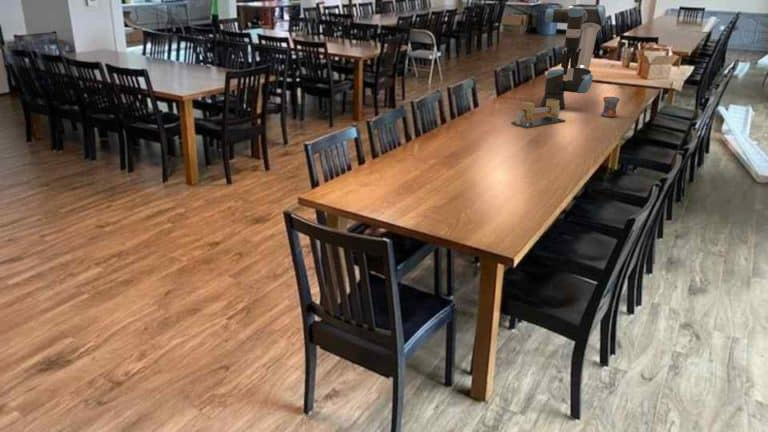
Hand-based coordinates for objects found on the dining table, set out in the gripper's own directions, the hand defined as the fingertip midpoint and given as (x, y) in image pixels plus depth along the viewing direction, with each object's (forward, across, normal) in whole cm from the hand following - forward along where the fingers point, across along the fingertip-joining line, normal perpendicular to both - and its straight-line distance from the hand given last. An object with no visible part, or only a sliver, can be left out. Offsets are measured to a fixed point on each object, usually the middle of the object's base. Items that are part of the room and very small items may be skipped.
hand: (567, 80), depth 340 cm
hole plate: (+23, -18, +2) cm, 29 cm away
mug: (+23, +32, -6) cm, 40 cm away
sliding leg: (+21, -7, +1) cm, 22 cm away
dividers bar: (+22, -18, +1) cm, 28 cm away
